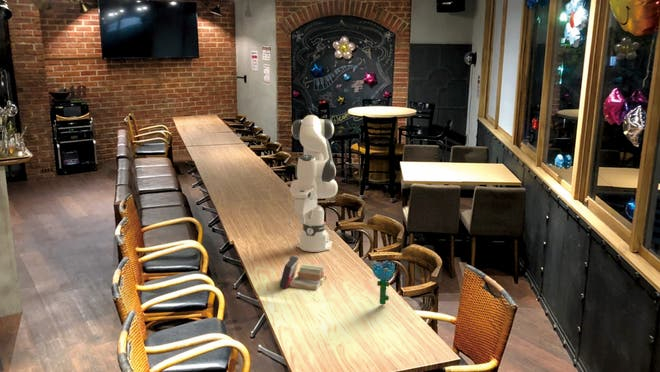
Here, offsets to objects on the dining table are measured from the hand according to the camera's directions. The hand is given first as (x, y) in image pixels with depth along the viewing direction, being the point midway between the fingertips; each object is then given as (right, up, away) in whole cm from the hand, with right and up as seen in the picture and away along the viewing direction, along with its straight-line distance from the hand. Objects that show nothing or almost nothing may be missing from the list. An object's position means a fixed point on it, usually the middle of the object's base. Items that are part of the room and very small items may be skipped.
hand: (306, 221), depth 271 cm
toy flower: (+34, -35, -14) cm, 51 cm away
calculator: (-10, -26, 0) cm, 28 cm away
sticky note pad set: (+1, -30, +9) cm, 31 cm away
